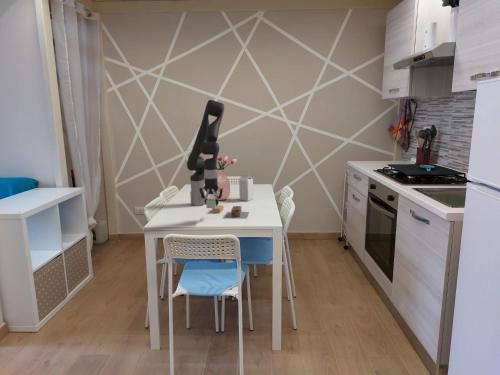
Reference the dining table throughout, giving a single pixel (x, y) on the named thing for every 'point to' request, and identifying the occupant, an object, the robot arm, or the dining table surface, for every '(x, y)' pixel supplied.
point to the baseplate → (243, 216)
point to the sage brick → (211, 202)
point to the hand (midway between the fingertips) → (211, 205)
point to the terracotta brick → (218, 209)
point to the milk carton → (246, 187)
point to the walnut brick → (236, 211)
